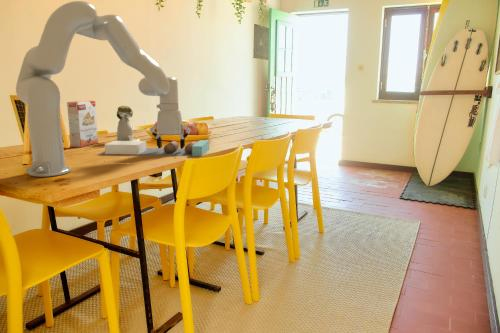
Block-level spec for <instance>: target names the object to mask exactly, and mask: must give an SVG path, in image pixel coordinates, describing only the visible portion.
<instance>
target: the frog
mask: <svg viewBox="0 0 500 333" xmlns="http://www.w3.org/2000/svg"><path fill="white" fill-rule="evenodd" d="M133 114H134V111H133V109H132V107H130V106H127V105H121V106H119V107H117V111H116V117H117V119H119V121H118V123H117V129H116V139H114V140H113V141H142V140H141V139H140V138H137V139H135V137H133V134H134V129H133V125H132V122H131V120H130V118H132V117H133Z"/></svg>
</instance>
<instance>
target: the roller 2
mask: <svg viewBox="0 0 500 333" xmlns="http://www.w3.org/2000/svg"><path fill="white" fill-rule="evenodd" d="M197 142H198V141H191V142H189V143H188V144H187V145H185V146H184V149H185V152H186V153H187V154H192V146H193V145H194V144H196V143H197Z"/></svg>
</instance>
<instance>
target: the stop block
mask: <svg viewBox="0 0 500 333" xmlns="http://www.w3.org/2000/svg"><path fill="white" fill-rule="evenodd" d="M196 142H197V143H196V144H194V145H193V146H192V156H191V157H203V156H204V155H206V153H207V152H209V150H210V140H207V139H206V140H205V139H204V140H203V139H200V140H198V141H196Z"/></svg>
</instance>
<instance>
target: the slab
mask: <svg viewBox="0 0 500 333" xmlns="http://www.w3.org/2000/svg"><path fill="white" fill-rule="evenodd" d="M146 148H147V141H145V140H141V141H110V142H107V143H105V144H104V151H105V154H135V155H134V156H139V155H138V154H140V153H142V152H144V151H146Z"/></svg>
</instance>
